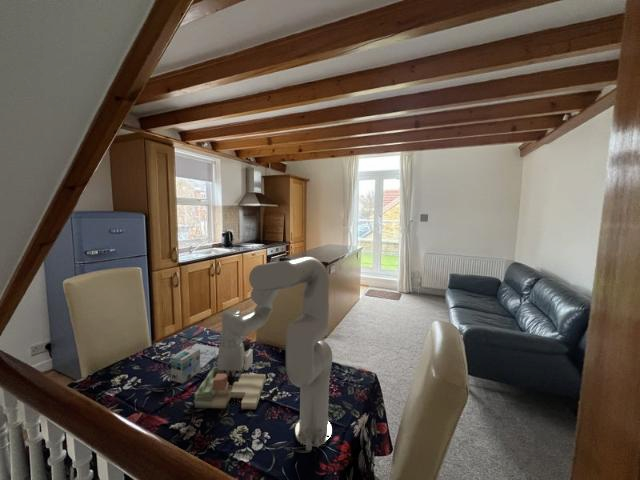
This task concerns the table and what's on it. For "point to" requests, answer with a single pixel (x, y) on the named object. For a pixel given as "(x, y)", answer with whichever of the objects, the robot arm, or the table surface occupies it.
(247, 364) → the medicine bottle
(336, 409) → the table surface
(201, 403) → the trap deck
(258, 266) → the robot arm
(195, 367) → the light bulb box
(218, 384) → the block
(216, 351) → the white patterned board
